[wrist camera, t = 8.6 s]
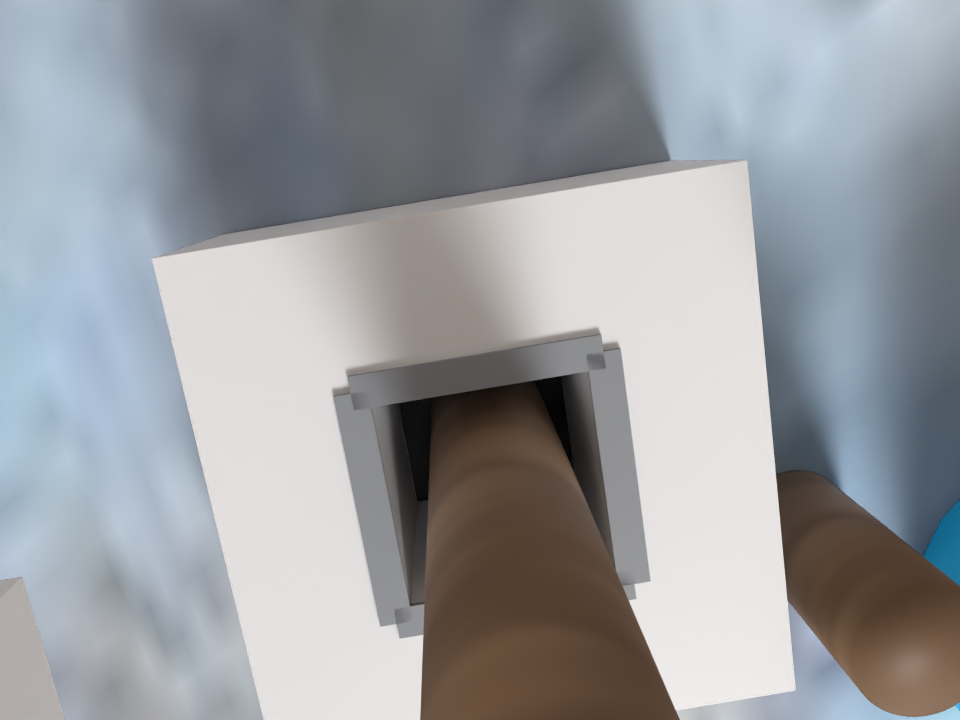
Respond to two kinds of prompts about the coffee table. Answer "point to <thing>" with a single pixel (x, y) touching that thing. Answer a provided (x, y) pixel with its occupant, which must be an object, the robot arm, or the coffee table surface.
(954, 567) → the mug
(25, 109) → the coffee table surface
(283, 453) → the hole block
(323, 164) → the coffee table surface
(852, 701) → the coffee table surface
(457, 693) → the long dowel
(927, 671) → the short dowel
